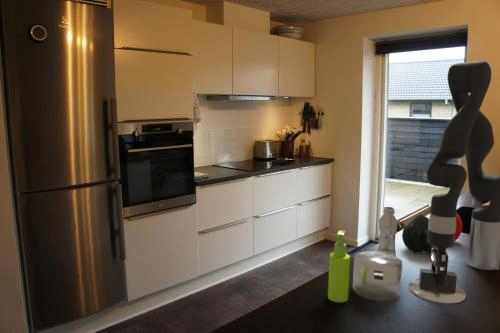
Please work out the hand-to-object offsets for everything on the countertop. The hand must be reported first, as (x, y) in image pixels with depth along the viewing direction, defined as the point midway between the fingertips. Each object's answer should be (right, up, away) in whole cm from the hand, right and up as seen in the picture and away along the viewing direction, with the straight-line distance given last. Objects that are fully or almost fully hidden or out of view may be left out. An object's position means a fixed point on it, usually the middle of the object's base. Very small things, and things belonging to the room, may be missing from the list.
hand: (436, 280), depth 127 cm
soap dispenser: (-31, -4, -4) cm, 32 cm away
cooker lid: (0, -4, +1) cm, 4 cm away
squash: (+10, +1, +35) cm, 36 cm away
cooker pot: (-19, -3, +1) cm, 19 cm away
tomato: (+25, +3, +48) cm, 54 cm away
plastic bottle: (-8, 0, +24) cm, 25 cm away
